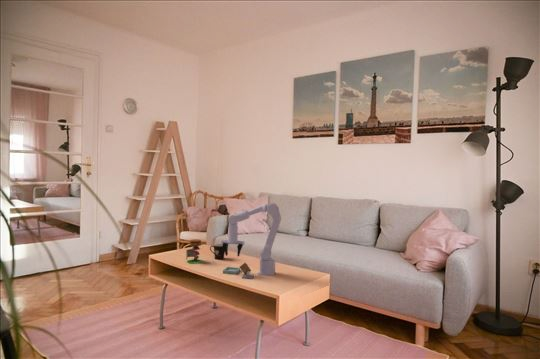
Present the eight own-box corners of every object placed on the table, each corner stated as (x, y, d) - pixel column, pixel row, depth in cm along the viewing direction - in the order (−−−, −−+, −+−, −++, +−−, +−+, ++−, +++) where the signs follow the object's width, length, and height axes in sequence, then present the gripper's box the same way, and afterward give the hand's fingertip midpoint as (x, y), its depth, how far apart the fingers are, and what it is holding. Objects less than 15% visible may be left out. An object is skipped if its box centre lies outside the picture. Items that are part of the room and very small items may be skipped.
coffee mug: (227, 259, 257) (228, 245, 257) (217, 261, 251) (217, 246, 251) (218, 256, 266) (219, 242, 265) (208, 257, 260) (209, 244, 260)
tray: (240, 270, 228) (240, 267, 228) (236, 274, 220) (236, 271, 220) (227, 269, 230) (227, 266, 230) (222, 273, 221) (222, 270, 221)
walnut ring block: (251, 270, 216) (246, 264, 219) (249, 269, 213) (245, 262, 215) (245, 275, 216) (241, 268, 218) (243, 273, 212) (239, 266, 214)
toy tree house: (205, 260, 253) (206, 238, 253) (200, 264, 240) (201, 242, 240) (189, 259, 254) (190, 238, 254) (183, 263, 242) (184, 241, 241)
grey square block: (253, 276, 216) (254, 269, 216) (251, 279, 211) (251, 272, 210) (244, 275, 217) (244, 268, 217) (241, 278, 212) (241, 271, 212)
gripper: (245, 233, 227) (245, 254, 227) (223, 232, 230) (223, 253, 230) (243, 235, 220) (242, 257, 220) (220, 234, 223) (219, 256, 223)
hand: (232, 255), depth 225 cm, fingers open, 7 cm apart
